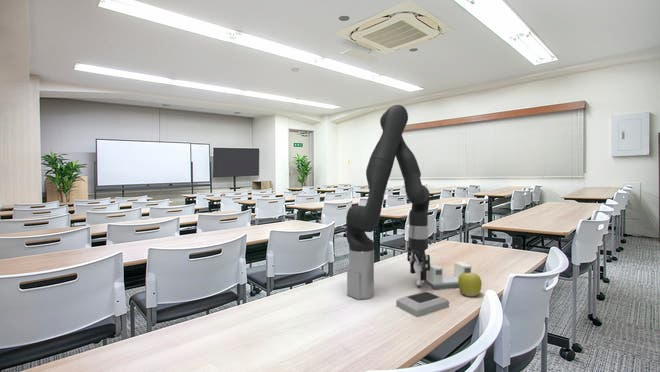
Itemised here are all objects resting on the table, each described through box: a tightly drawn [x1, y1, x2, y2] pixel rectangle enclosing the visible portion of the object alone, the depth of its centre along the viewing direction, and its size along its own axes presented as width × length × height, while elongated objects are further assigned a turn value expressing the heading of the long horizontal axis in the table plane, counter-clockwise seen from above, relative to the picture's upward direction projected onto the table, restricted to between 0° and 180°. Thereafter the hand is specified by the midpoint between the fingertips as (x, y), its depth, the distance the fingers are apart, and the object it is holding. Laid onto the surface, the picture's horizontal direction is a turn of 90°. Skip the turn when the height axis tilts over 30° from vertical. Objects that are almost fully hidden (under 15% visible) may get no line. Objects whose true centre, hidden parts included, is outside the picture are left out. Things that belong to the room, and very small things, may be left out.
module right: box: [453, 261, 472, 278], centre depth 131 cm, size 4×7×6 cm, turn 11°
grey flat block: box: [395, 290, 450, 318], centre depth 109 cm, size 10×4×15 cm
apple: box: [458, 272, 482, 298], centre depth 119 cm, size 8×8×10 cm
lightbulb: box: [414, 261, 429, 287], centre depth 128 cm, size 6×6×11 cm
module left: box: [426, 263, 444, 284], centre depth 128 cm, size 4×7×6 cm, turn 11°
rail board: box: [423, 275, 460, 291], centre depth 130 cm, size 17×8×2 cm, turn 101°
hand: (418, 276), depth 127 cm, fingers open, 8 cm apart
